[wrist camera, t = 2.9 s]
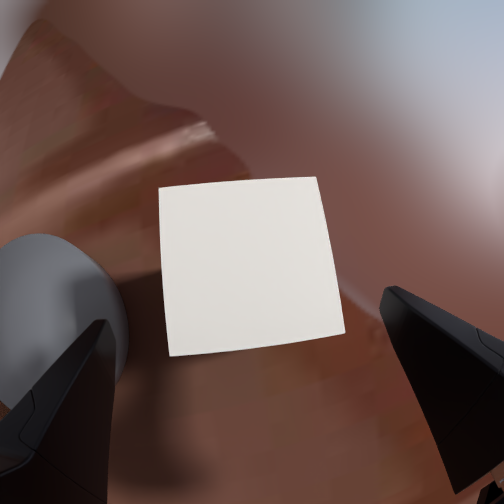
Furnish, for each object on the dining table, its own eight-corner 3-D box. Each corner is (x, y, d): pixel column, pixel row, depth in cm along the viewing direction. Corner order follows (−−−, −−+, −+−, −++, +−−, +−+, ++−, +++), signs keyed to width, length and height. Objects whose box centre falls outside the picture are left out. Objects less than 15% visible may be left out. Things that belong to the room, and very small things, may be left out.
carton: (281, 336, 18) (346, 333, 9) (196, 346, 18) (169, 357, 8) (269, 255, 20) (316, 176, 10) (187, 263, 19) (158, 187, 9)
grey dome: (161, 371, 17) (151, 377, 14) (35, 432, 15) (13, 443, 12) (88, 218, 19) (70, 200, 16) (-20, 292, 16) (-44, 284, 14)
